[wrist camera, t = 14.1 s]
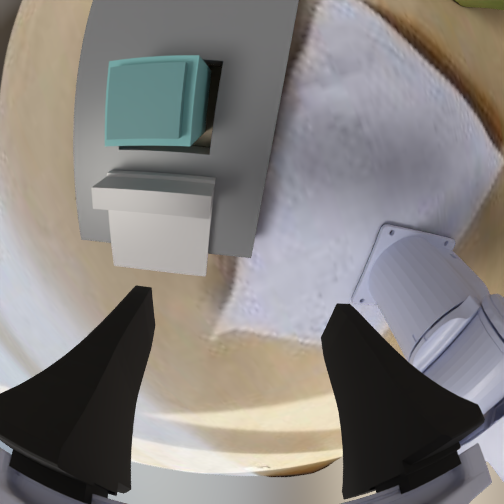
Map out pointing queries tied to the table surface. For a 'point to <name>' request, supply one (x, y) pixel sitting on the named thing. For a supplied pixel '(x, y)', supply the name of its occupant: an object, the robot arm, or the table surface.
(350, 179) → the table surface
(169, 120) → the plug
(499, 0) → the plant pot
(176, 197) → the white stepped block
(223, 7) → the socket plate
